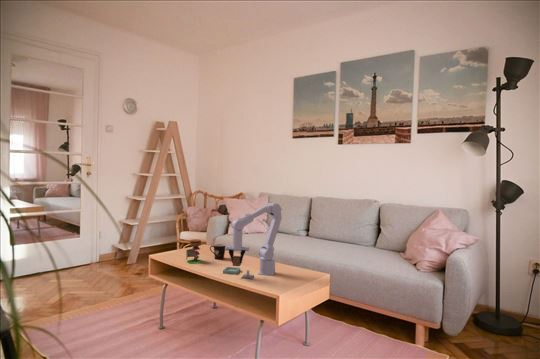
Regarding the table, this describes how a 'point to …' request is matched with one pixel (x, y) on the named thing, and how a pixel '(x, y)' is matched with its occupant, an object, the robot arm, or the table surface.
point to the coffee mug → (219, 251)
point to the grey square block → (247, 275)
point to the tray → (231, 270)
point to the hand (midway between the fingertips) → (236, 262)
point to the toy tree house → (194, 252)
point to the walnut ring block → (236, 260)
